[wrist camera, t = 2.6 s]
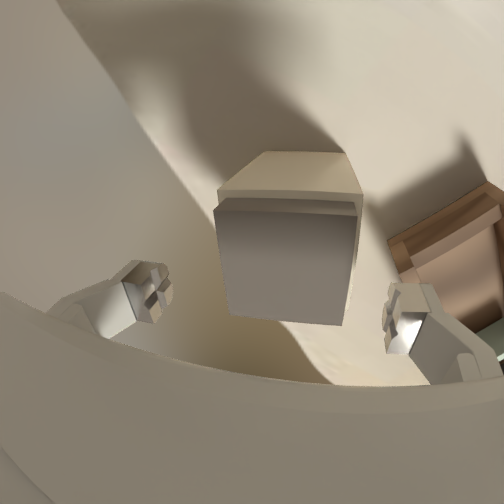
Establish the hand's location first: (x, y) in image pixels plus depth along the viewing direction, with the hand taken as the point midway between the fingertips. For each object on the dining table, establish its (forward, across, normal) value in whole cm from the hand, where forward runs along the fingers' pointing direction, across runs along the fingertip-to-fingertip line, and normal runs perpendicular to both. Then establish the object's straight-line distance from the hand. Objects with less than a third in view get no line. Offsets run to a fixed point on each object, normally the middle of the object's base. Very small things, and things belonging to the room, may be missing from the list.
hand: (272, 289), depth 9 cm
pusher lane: (+10, -16, +9) cm, 21 cm away
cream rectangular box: (+9, 0, -1) cm, 9 cm away
